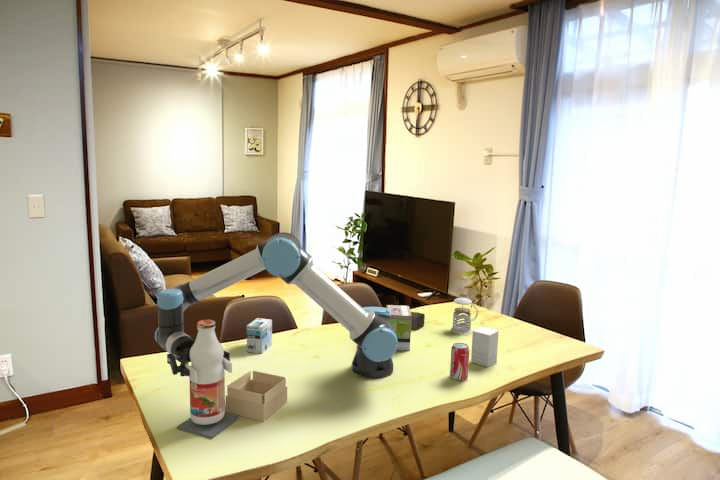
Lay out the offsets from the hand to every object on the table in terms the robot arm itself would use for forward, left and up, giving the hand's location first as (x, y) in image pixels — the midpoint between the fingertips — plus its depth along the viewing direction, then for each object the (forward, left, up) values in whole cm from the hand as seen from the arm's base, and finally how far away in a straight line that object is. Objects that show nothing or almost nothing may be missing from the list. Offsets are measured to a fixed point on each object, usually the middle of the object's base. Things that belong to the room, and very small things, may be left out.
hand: (213, 372), depth 137 cm
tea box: (-25, -86, -17) cm, 91 cm away
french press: (-47, -115, -17) cm, 126 cm away
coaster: (+4, -2, -17) cm, 17 cm away
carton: (-3, -16, -17) cm, 23 cm away
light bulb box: (+23, -57, -17) cm, 64 cm away
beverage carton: (-20, -111, -17) cm, 114 cm away
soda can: (-55, -64, -17) cm, 86 cm away
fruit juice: (+4, -2, -15) cm, 16 cm away
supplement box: (-61, -82, -17) cm, 104 cm away
